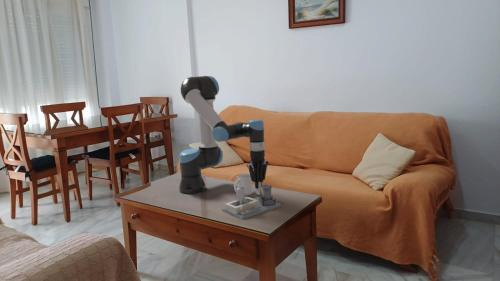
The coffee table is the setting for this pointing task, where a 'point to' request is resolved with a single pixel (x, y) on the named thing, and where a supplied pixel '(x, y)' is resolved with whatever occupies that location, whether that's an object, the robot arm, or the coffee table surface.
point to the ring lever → (267, 202)
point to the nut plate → (250, 205)
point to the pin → (240, 195)
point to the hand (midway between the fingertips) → (258, 193)
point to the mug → (244, 183)
